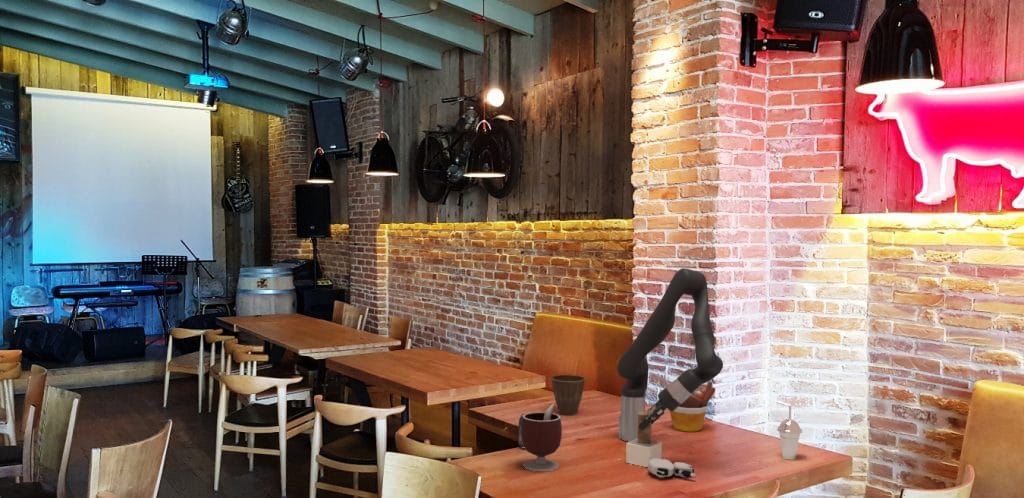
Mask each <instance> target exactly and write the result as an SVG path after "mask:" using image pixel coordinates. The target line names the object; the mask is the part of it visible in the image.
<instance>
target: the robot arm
mask: <svg viewBox="0 0 1024 498" xmlns="http://www.w3.org/2000/svg"><path fill="white" fill-rule="evenodd" d="M683 295H686V296H691V297H692V300H693V303H694V311H693V315H692V318H691V323H690V328H691V333H692V337H693V341H694V346H695V347H694V353H695V354H694V356H695V360H696V364H697V366H696V367H695V368H687V369H686V370H685V371H684V372H682V373H681V374H680V375H679V376H678V377H677V378H675V379H674V380H672V381H671V382H670V383H669V384H668V385H666V387H665V388H664V389H662V390H661V391H660V392H659V393H658V394H657V397H658V401H657V402H655V403H654V404H653V405H652V406H650V407H649V408H648V410H647V411H646V391H647V389H648V386H649V385H648V384H649V382H648V381H649V362H648V360H647V358H646V357H647V356H648V355H649V353H650V352H652V351H653V350H655V349H656V348H657V347H658V346H659V345H660V344H661V343H663V342H664V341H665V340H666V338H667V337H668V335H669V334H670V332H671V331H672V330H673V328H674V326H675V322H676V306H677V305H678V302H679V301H680V300H681V298H682V296H683ZM709 304H710V303H709V293H708V282H707V278H706V276H705V274H703V273H702V272H700V271H697V270H693V269H690V268H685V267H684V268H680V269H678V270H677V271H676V272H675V274H674V275H673V277H672V278H671V281H670V282H669V285H668V286H667V288H666V290H665V291H664V293H663V296H661V299H660V300H659V302H658V304H657V306H656V308H654V310H653V311H652V313H651V315H650V316H649V317H648V319H647V321H646V322H645V323H644V326H643V327H642V329H641V330H640V331H639V333H638V335H637V336H636V337H635V340H634V341H633V342H632V344H631V345H630V346H629V347H628V348H627V350H626V351H625V352H624V353H623V354H622V356H621V357H620V358H619V360H618V362H617V373H618V375H619V376H620V377H621V378H623V379H626V383H625V384H624V385H623V386H622V387H621V391H620V392H621V393H620V394H621V395H620V414H619V415H618V436H617V437H618V438H619V439H618V440H621V439H622V440H621V441H623V440H624V441H623V442H627V441H628V442H631V441H633V440H635V439H637V438H638V427H639V428H640V429H641V430H642V431H643V430H644V429H645V428H646V427H647V426H649V425H650V424H652V425H653V424H654V423H655V422H657V421H658V420H659V419H660V418H661V417H662V416H663V415H664V414H665V411H666V409H668V410H669V412H670V411H674V410H675V409H676V408H677V407H679V406H680V405H681V404H682V403H683V402H684V401H685V400H686V399H687V398H688V397H689V396H690V395H691V394H692V393H693V392H694V391H695V390H696V391H697V389H698V388H699V387H700V386H702V385H705V384H707V383H708V382H710V381H712V380H713V379H714V378H715V377H717V376H718V375H719V374H720V373H721V371H722V370H723V367H724V361H723V360H722V358H721V357H720V356H718V355H717V354H716V352H715V343H716V339H715V335H714V330H713V326H712V322H711V321H712V320H711V317H710V307H709ZM638 412H649V416H648V417H646V419H645V420H644V421H643V422H642V423H640V424H639V425H638ZM651 417H652V419H651ZM628 442H627V443H628Z"/></svg>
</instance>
